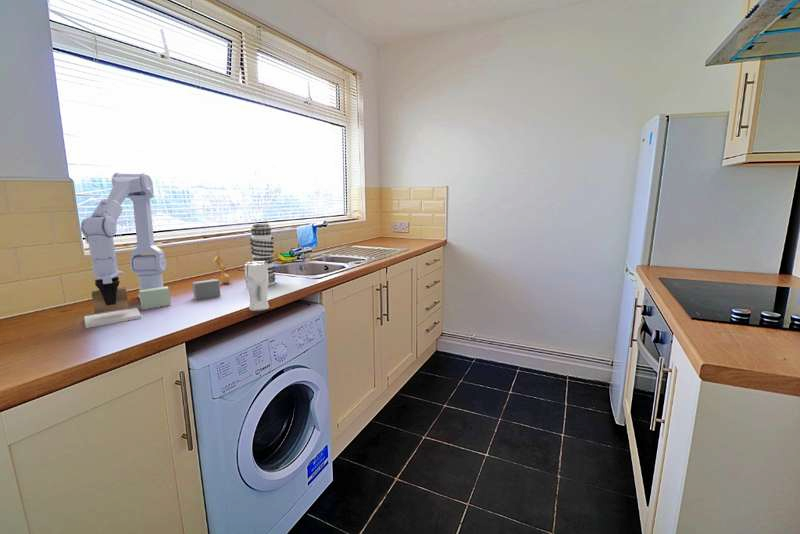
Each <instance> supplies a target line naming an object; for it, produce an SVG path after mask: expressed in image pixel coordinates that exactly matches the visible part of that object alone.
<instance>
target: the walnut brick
mask: <svg viewBox="0 0 800 534" xmlns="http://www.w3.org/2000/svg"><path fill="white" fill-rule="evenodd" d="M91 297H92V303H93V304H92V305H93V310H94V314H102V313H108V312H114V311H120V310H126V309H130V308H129V302H128V294H127V288H126V286H122V287H118V288H117V292H116V304H114V305H106V303H105V301H104V298H103V296H102V293H101V292H100V290H99V289H98V290H97V289H96V290H91Z"/></svg>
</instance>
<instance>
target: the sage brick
mask: <svg viewBox="0 0 800 534" xmlns="http://www.w3.org/2000/svg"><path fill="white" fill-rule="evenodd" d="M138 295H140V298H139V300H140V308H141V310H143V309H145V310H148V308H151V309H154V308H153V307H157V308H161V307H160V306H163V307H167V305H169V306H172V303H171V294H170V288H169V286H166V285H165V286H163V287H158V288H151V289H143V290H140V289H139V290H138Z"/></svg>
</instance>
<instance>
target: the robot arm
mask: <svg viewBox="0 0 800 534" xmlns="http://www.w3.org/2000/svg"><path fill="white" fill-rule="evenodd" d="M153 184H154V183H153V179H152V178H151V176H150V174H148V173H146V172H140V173H139V172H136V173H135V172H131V173H130V172H129V173H128V172H115V173H113V175H112V178H111V185H112V188H111V190H110V193H109V195H108V197H107V198H105V199H103V200H102V199H101V201H100V202H99V203H98V205H97V207H96V208H95V209H94V211H93V212H92V214H91V216H86V218H85V219H84V218H83V220H82V221H81V226H80V231H81V233H82V235H83V237H84V238H85V242H86V244H88V248H89V255H90V261H91V266H92V273H93V274H92V276H93V277H92V278H95V280H94V282H95V283H94V285H95V286H96V288H97V289H98V290H100V292H101V293H102V296H103V298H104V301H105V303H106V305H114V304H116V292H117V288H119V284H120V283H121V281H120V280H119V275H123V274H124V271H123V270H119V268H118V261H117V256H116V249H115V243H114V236H115V234H117V226H118V219H119V218H120V216H121V214H122V211H123V207H122V204H123V203H124V201H125V200H126V199H130V200H131V201H132V206H133V213H134V214H133V215H134V225H135V232H136V233H135V235H136V244H137V247H136V248H134V249H133V250H132V251H131V252H130V260H129V268H130V270H131V271H132V272H133V273H135V275H136V276H137V277H138V278H137V280H138V286H139V290H143V289H151V288H158V287H164V281H163V272H164V271H165V270H166V268H167V259H166V257H165V252H164V250H162V249H161V248H159V247H158V246H156V245H155V239H154V229H153V218H152V216H153V215H152V208H151V207H152V206H151V199H152V198H154V185H153ZM137 297H138V298H139V299H140V295H139V294H137Z"/></svg>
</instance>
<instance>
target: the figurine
mask: <svg viewBox="0 0 800 534" xmlns="http://www.w3.org/2000/svg"><path fill="white" fill-rule="evenodd" d="M213 259H214V260H213V261H212V263H213V266H214V268H215V269H218V268H219V269H220V274H221V276H220V279H219V280H220V282H221V283H222V284H224V285H226V284H229V283H231V279H232V278H231V277H232V276H230V275H229V274H227V273H225V269H226V266H228V265H227V262H226V261H224V260H223V259H222V257H221V255H220V254H219V255H217V256H215V257H213ZM221 262H222V263H224V264H225V266H224V265H223V264H222V263H221ZM216 265H217V266H216Z"/></svg>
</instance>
